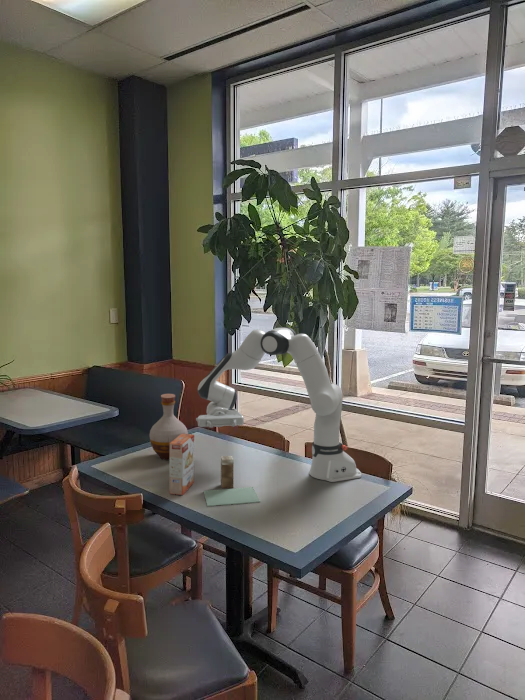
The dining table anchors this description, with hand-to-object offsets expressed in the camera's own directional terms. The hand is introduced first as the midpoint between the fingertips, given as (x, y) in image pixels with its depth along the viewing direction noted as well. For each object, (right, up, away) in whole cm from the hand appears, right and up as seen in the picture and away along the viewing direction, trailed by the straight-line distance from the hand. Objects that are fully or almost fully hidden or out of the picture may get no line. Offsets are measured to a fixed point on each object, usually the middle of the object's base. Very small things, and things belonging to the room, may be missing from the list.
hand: (222, 425), depth 224 cm
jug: (-28, -19, +25) cm, 42 cm away
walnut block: (+3, -24, -10) cm, 26 cm away
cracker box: (-15, -24, -13) cm, 31 cm away
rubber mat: (+5, -25, -20) cm, 33 cm away
